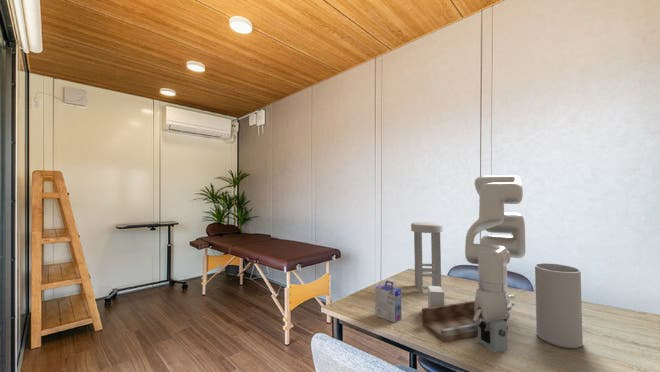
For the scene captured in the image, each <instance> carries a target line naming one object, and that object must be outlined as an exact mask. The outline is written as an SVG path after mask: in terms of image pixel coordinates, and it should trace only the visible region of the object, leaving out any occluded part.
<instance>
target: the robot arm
mask: <svg viewBox="0 0 660 372" xmlns="http://www.w3.org/2000/svg"><path fill="white" fill-rule="evenodd" d="M474 187H475V190H476V192H477V195H478V196H479V202H478V203H479V207H478V208H479V211H478V216H479V217H478V219H477V220H476V221H475V222H474V223H472V225H470V226H469V229H468V230H467V232H466V236H465V244H464V245H465V247H464V249H465V250H464V256H465V259H466V261H467V262H468V263H469V264H472V265H477V266H478V267H477V270H478V271H477V273H478V278H477V279H478V288H476V290H475V291H476V292H475V297H474V301H475V308H474V314H475V317H474V318H473V321H474V322H475V323H476V324H477V325H478V326H479V327H480V328H481V339H482V340H483V341H485V342H486V343H490V331H488V329H489V322H493V321H499V320H504V321H506V322H507V323H508V320H509V319H510V317H511V315H510V313H509V311H508V310H509V309H512V307H513V305H512V304H513V303H511V302H510V300H514V299H516V296H515V295H514V294H508V269H507V265H508V264H510V262H511V258H512V259H522V258H524V257H525V254H526V227H525V226H526V223H525V219H524V216H523V215H522V214H521V213H518V212H513V211H512V212H506V211H505V205H518V204H520V203H521V202H522V201H523V197H524V196H523V195H524V193H523V192H524V190H523V183H522V180H521V178H520V176H519V175H512V174H511V175H510V174H508V175H507V174H506V175H484V176H479V177H477V178H476V179H475V180H474ZM484 231H486V232H488V233H491V234H486V235H484V236H482V237H481V238H480V242H479V243H475V239H476V236H477V235H478V234H479V233H481V232H484ZM499 234H504V235H499ZM505 234H506V235H505ZM509 234H510V235H509ZM484 322H485V325H484Z"/></svg>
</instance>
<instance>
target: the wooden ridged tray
mask: <svg viewBox="0 0 660 372" xmlns="http://www.w3.org/2000/svg"><path fill="white" fill-rule="evenodd" d="M474 308H475V300H473V301H471V300H470V301H463V302H457V303H452V304H444V305H443V306H436V307H429V308H428V307H422V308H421V325H422V326H423V328H425V329H426V330H427V331H429V332H430V333H432V334H433V335H434V336H436V337H437V338H438V339H440V340H441V341H442V342H443V343H447V342H453V341H456V340H463V339H469V338H473V337H478V325H477V324H476V323H475V322H474V321H473V318H474V317H475V314H474ZM508 328H509V327H508V325H507V331H508V330H509V329H508Z"/></svg>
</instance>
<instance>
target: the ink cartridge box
mask: <svg viewBox="0 0 660 372" xmlns="http://www.w3.org/2000/svg"><path fill="white" fill-rule="evenodd" d="M374 288H375V289H374V290H375V291H374V300H375V301H374V303H375V304H374V308H375V309H374V315H375V317H378V318H382V319H384V320H387V321H390V322H393V323H396V322H398V321H400V320H402V318H403V317H402V288H398V287H394V281H391V280H387V279H386V281H385V283H384V284H379V285H377V286H375V287H374Z"/></svg>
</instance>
